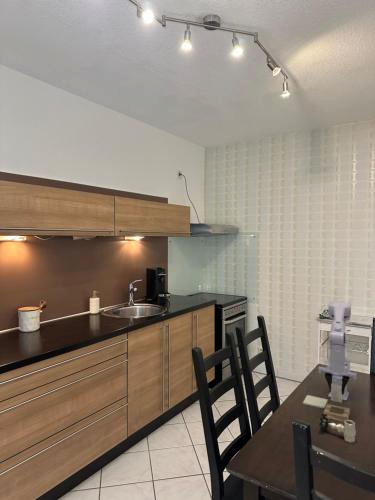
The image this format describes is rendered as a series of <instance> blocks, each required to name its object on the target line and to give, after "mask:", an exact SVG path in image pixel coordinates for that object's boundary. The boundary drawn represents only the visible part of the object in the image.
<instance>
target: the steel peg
mask: <svg viewBox="0 0 375 500" xmlns="http://www.w3.org/2000/svg"><path fill="white" fill-rule="evenodd" d="M342 399H343V395H342V382H339V381H332V383H331V397H330V401H333V402H337V403H342V402H343V400H342Z"/></svg>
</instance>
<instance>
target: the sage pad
mask: <svg viewBox="0 0 375 500" xmlns="http://www.w3.org/2000/svg"><path fill="white" fill-rule="evenodd" d="M328 402H329V401H328V399H326V398H322V397H317V396H313V395H308V394H307V395H306V396H305V398H304V400H303V401H302V404H304V405H307V406H311V407H315V408H319V409H325V407H326V405H327V404H328Z"/></svg>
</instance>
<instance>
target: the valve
mask: <svg viewBox="0 0 375 500" xmlns="http://www.w3.org/2000/svg"><path fill="white" fill-rule="evenodd" d="M326 416H327V414H324V413H323V412H322V414H321V417H319V421H320V422H319V423H318V426H319V427H320V428H319V431H320V432H326V430H327V429H328V428H329V427H331V428H332V429H335V430H337V432H338V433H340V434H342V433H343V439H344V441H345V442H348V443H350V444H351V443H356V437H355V436H356V433H357V431H356V423H355V422H354V420H349V419H348V420H345V421H344V422H343V423H338V424H337V423H334V422H331V421H330V418H326Z"/></svg>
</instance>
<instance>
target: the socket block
mask: <svg viewBox="0 0 375 500" xmlns="http://www.w3.org/2000/svg"><path fill="white" fill-rule="evenodd" d="M322 413H324V414H327V416H326V418H328V419H329V420H331V419H332V420H335V421H338V422H342V423H344V421H345V420H349V418H350V413H351V409H350V408H348V407H343V406H338V405H334V404H330V403H326V406H325V408H324V410H323V412H322Z"/></svg>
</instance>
